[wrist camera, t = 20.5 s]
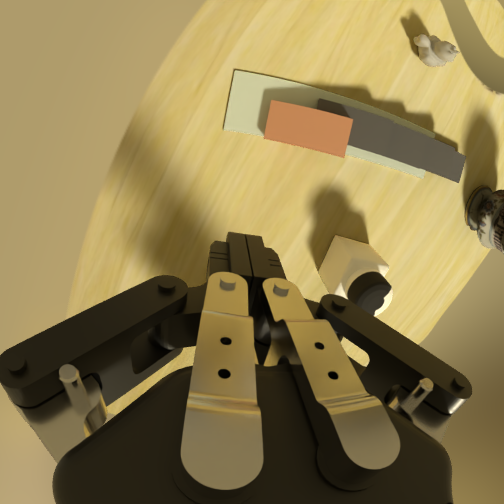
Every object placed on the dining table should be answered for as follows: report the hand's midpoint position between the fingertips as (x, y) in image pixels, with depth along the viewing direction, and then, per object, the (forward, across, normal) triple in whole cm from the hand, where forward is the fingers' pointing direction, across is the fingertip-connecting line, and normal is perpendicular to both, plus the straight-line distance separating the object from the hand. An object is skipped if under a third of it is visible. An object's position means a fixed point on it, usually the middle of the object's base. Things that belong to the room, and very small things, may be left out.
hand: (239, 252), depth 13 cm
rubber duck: (+26, -25, -24) cm, 44 cm away
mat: (+26, -15, -8) cm, 31 cm away
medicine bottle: (+27, -21, +12) cm, 36 cm away
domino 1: (+25, -4, -6) cm, 26 cm away
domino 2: (+25, -10, -8) cm, 28 cm away
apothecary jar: (+27, -50, -3) cm, 57 cm away
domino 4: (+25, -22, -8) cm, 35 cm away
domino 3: (+25, -16, -8) cm, 31 cm away
